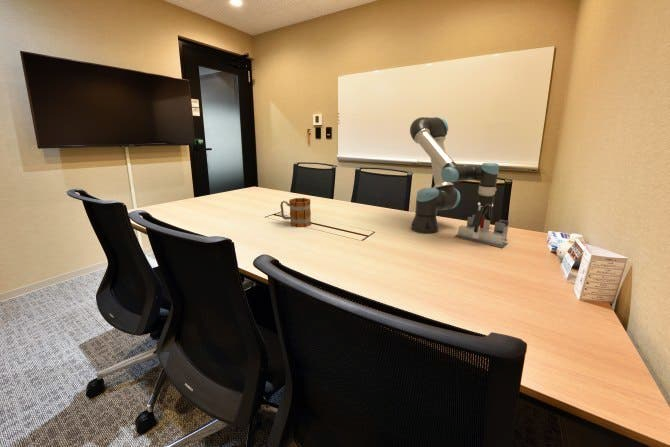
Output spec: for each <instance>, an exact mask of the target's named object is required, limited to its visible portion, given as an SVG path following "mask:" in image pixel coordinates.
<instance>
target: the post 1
mask: <svg viewBox="0 0 670 447" xmlns="http://www.w3.org/2000/svg"><path fill="white" fill-rule="evenodd" d="M474 217H475V214H472V216H467V221H466V226H469V227H474V225H472V223H473V220H474Z"/></svg>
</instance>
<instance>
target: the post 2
mask: <svg viewBox="0 0 670 447" xmlns="http://www.w3.org/2000/svg"><path fill="white" fill-rule="evenodd" d="M509 225H510V220H509V221H508V220H504V219H499V220H498V221H495V223H494V229H493V232H498V233H502V234H506V236H505V241H506V240H507V236H508V229H509Z"/></svg>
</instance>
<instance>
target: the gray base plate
mask: <svg viewBox="0 0 670 447" xmlns="http://www.w3.org/2000/svg"><path fill="white" fill-rule="evenodd" d="M454 238H457V239H458V238H459V239H461V240H465V241H471V242H474V243H478V244H482V245H486V246H491V247H495V248H499V249H503V248H505V247H506V246H507V245H508V242H504V244H503V245H502V246H501V245H496V244H492V243H488V242H484V241H479V240H475V239H471V238H467V237H462V236H458V233H457V234H454Z"/></svg>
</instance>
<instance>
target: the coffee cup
mask: <svg viewBox="0 0 670 447" xmlns="http://www.w3.org/2000/svg"><path fill="white" fill-rule="evenodd" d="M480 204H481V203H480V202H477V206H480ZM492 207H494V203H492ZM490 216H491V215H490ZM484 220H486V219H485V215H484V216H483V218H482V221H481V223H480V229H483V227H484Z"/></svg>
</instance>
